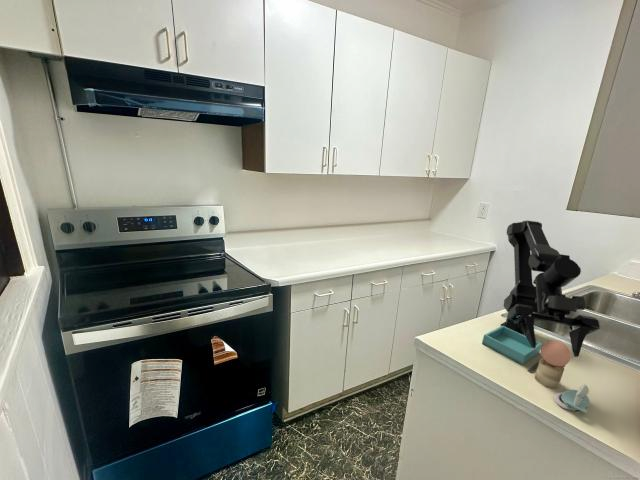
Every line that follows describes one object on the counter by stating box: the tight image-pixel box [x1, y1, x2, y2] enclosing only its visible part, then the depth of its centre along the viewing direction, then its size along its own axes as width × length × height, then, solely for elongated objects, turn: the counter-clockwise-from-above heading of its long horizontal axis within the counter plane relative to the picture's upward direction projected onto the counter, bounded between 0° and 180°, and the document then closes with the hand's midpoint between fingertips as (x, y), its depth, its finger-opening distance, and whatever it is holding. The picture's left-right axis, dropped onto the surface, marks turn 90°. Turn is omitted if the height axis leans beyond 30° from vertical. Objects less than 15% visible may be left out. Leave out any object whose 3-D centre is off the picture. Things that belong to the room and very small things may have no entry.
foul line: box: [527, 361, 539, 374], centre depth 87 cm, size 14×1×1 cm, turn 125°
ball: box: [540, 339, 572, 366], centre depth 78 cm, size 6×6×6 cm
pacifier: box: [554, 383, 590, 413], centre depth 72 cm, size 7×6×6 cm
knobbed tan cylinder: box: [534, 357, 566, 389], centre depth 79 cm, size 5×5×6 cm
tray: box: [481, 325, 543, 366], centre depth 93 cm, size 11×11×3 cm
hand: (555, 352), depth 78 cm, fingers open, 9 cm apart
